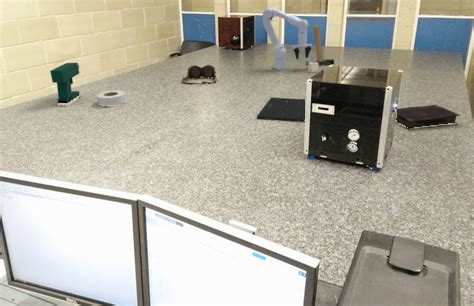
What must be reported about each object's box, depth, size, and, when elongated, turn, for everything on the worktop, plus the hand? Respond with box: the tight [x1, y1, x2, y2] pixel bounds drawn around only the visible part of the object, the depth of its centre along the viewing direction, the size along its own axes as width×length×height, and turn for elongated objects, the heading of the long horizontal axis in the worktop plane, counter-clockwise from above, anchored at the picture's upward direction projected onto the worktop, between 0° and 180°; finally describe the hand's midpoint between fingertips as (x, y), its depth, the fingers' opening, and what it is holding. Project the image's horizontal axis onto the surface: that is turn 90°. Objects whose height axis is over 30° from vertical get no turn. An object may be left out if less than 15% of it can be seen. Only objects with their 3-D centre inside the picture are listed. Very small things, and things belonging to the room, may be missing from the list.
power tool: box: [49, 62, 81, 104], centre depth 236 cm, size 32×7×20 cm, turn 178°
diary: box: [396, 104, 461, 130], centre depth 186 cm, size 19×25×5 cm
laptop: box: [256, 97, 306, 122], centre depth 202 cm, size 33×38×19 cm
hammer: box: [305, 25, 335, 67], centre depth 295 cm, size 20×5×30 cm, turn 79°
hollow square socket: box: [307, 61, 320, 74], centre depth 279 cm, size 5×5×6 cm
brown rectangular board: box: [296, 66, 321, 75], centre depth 284 cm, size 18×12×4 cm, turn 23°
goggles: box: [181, 64, 218, 85], centre depth 269 cm, size 24×24×10 cm
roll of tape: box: [96, 89, 127, 105], centre depth 228 cm, size 16×16×6 cm
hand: (301, 58), depth 283 cm, fingers open, 7 cm apart
